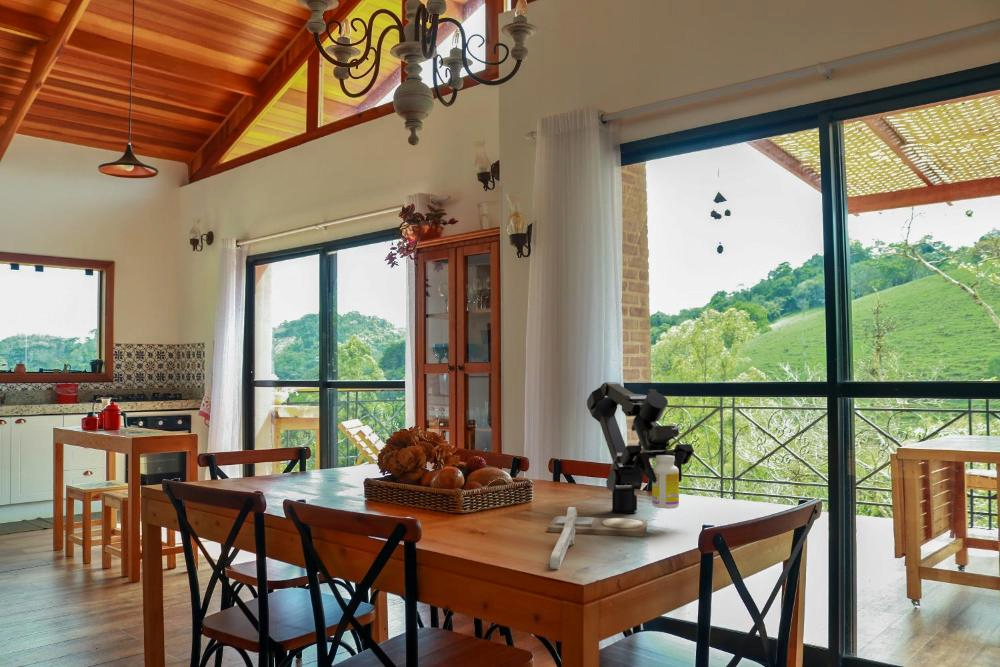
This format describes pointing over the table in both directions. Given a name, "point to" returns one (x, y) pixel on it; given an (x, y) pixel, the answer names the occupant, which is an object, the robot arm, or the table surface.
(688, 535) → the table surface
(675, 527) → the table surface
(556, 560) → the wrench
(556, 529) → the coaster board
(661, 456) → the supplement bottle
